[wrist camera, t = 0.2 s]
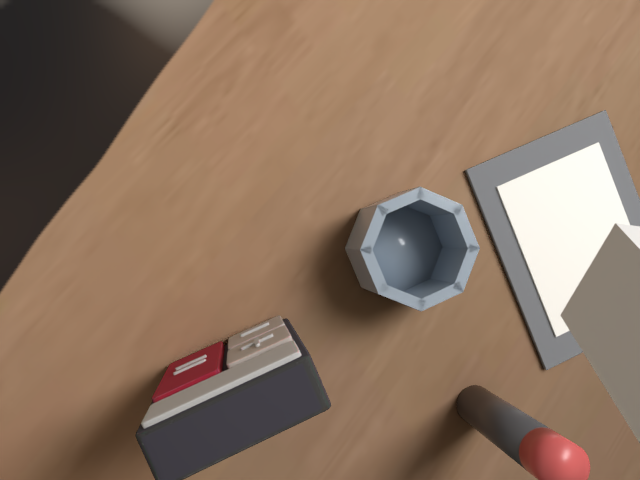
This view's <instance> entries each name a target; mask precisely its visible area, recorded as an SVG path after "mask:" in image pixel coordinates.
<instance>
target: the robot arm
mask: <svg viewBox="0 0 640 480" xmlns="http://www.w3.org/2000/svg"><path fill="white" fill-rule="evenodd" d="M560 316H561V317H562V319H563V321H564V322H565V324H566V325H567V327H568V329H569V330H570V332H571V333H572V335H573V337H574V338H575V340H576V341H577V343H578V345H579V346H580V348H581V349H582V351H583V353H584V354H585V356H586V358H587V359H588V361H589V362H590V364H591V366H592V367H593V369H594V370H595V372H596V374H597V375H598V377H599V378H600V380H601V382H602V383H603V385H604V387H605V388H606V390H607V391H608V393H609V395H610V396H611V398H612V399H613V401H614V403H615V404H616V406H617V407H618V409H619V411H620V412H621V414H622V415H623V417H624V419H625V420H626V422H627V424H628V425H629V427H630V428H631V430H632V432H633V433H634V435H635V436H636V438H637V440H638V441H639V443H640V226H633V225H626V224H619V223H615V224H614V226H613V228H612V229H611V231H610V233H609V234H608V236H607V238H606V239H605V241H604V243H603V245H602V246H601V248H600V250H599V251H598V253H597V255H596V256H595V258H594V260H593V261H592V263H591V265H590V266H589V268H588V270H587V271H586V273H585V275H584V276H583V278H582V280H581V281H580V283H579V285H578V286H577V288H576V290H575V291H574V293H573V295H572V296H571V298H570V300H569V301H568V303H567V305H566V306H565V308H564V310H563V311H562V313H561V315H560Z"/></svg>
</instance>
